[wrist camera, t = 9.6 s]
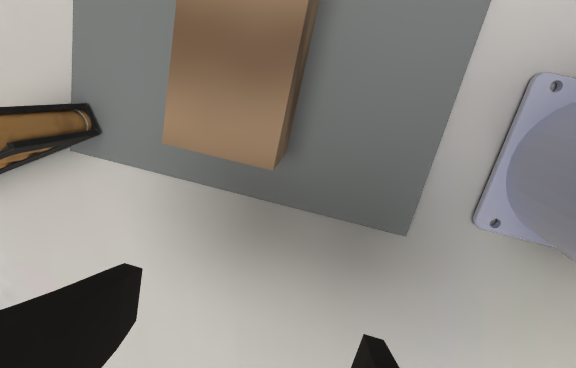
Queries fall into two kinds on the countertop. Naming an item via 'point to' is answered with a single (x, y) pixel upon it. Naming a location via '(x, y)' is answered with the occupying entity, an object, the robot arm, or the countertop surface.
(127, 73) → the mat
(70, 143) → the ammunition clip
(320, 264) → the countertop surface
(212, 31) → the card box
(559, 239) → the robot arm
